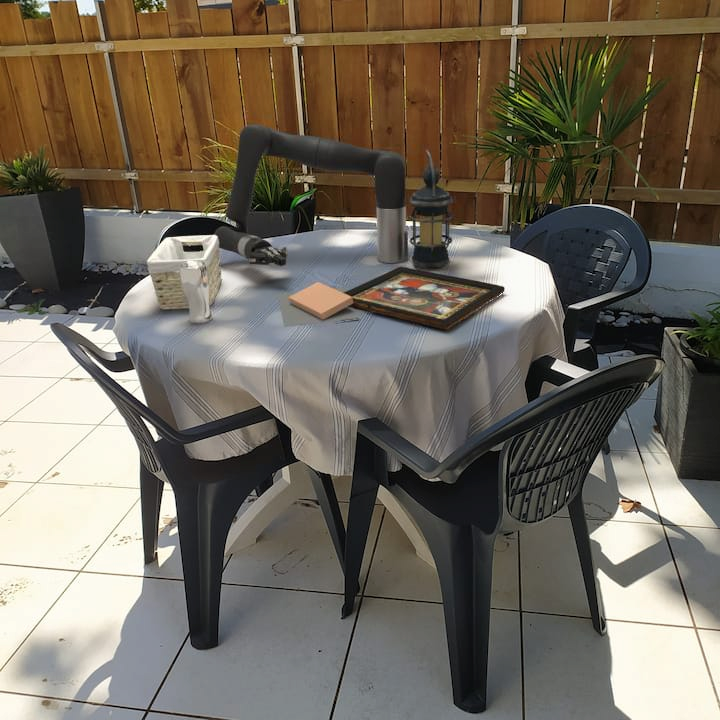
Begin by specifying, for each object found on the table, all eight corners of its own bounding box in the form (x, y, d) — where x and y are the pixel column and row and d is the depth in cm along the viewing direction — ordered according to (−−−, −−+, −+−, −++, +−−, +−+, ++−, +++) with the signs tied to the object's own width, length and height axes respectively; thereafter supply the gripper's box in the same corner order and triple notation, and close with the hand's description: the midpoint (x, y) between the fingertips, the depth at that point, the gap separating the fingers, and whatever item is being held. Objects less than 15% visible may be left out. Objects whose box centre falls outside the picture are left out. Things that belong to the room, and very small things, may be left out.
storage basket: (213, 310, 178) (205, 257, 172) (153, 313, 178) (143, 260, 172) (226, 281, 200) (219, 233, 193) (172, 283, 200) (164, 236, 193)
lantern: (454, 272, 198) (457, 152, 183) (410, 273, 199) (409, 154, 183) (449, 257, 211) (451, 144, 196) (408, 259, 212) (407, 146, 196)
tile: (288, 297, 177) (321, 313, 166) (318, 281, 182) (352, 296, 170) (290, 303, 178) (323, 320, 167) (319, 288, 183) (353, 303, 171)
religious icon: (509, 288, 183) (510, 279, 182) (460, 335, 156) (461, 324, 155) (389, 271, 201) (389, 262, 200) (327, 310, 174) (326, 300, 173)
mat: (343, 289, 189) (343, 287, 188) (358, 320, 167) (358, 318, 167) (277, 296, 186) (277, 294, 185) (284, 328, 164) (284, 326, 164)
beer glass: (217, 314, 175) (209, 260, 168) (209, 324, 169) (201, 268, 162) (192, 314, 176) (183, 260, 169) (183, 324, 170) (174, 268, 163)
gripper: (233, 241, 193) (261, 254, 180) (272, 233, 200) (302, 244, 187) (236, 266, 196) (264, 280, 184) (275, 256, 203) (304, 269, 190)
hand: (283, 262), depth 185 cm, fingers closed
